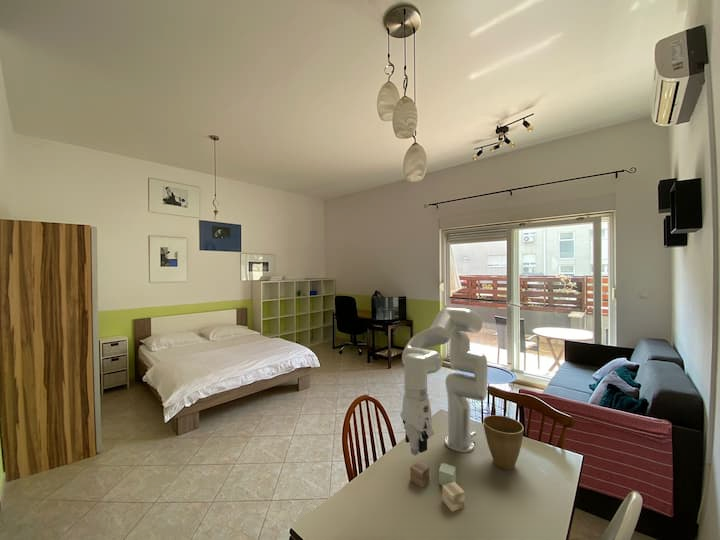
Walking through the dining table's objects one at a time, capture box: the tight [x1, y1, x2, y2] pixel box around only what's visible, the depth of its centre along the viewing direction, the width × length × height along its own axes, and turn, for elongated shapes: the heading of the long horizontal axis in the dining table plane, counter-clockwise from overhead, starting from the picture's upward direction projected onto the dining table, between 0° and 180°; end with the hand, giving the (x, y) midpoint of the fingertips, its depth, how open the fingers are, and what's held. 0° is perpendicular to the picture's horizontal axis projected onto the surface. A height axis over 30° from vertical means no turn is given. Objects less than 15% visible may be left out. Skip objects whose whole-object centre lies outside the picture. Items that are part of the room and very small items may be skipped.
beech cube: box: [441, 481, 466, 512], centre depth 96 cm, size 5×5×5 cm
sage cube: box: [438, 462, 457, 486], centre depth 106 cm, size 5×5×5 cm
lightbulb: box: [405, 424, 424, 456], centre depth 96 cm, size 6×6×11 cm
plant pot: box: [482, 414, 525, 470], centre depth 117 cm, size 15×15×16 cm
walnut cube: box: [409, 460, 430, 488], centre depth 107 cm, size 5×5×5 cm
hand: (416, 445), depth 96 cm, fingers closed on lightbulb, 5 cm apart
